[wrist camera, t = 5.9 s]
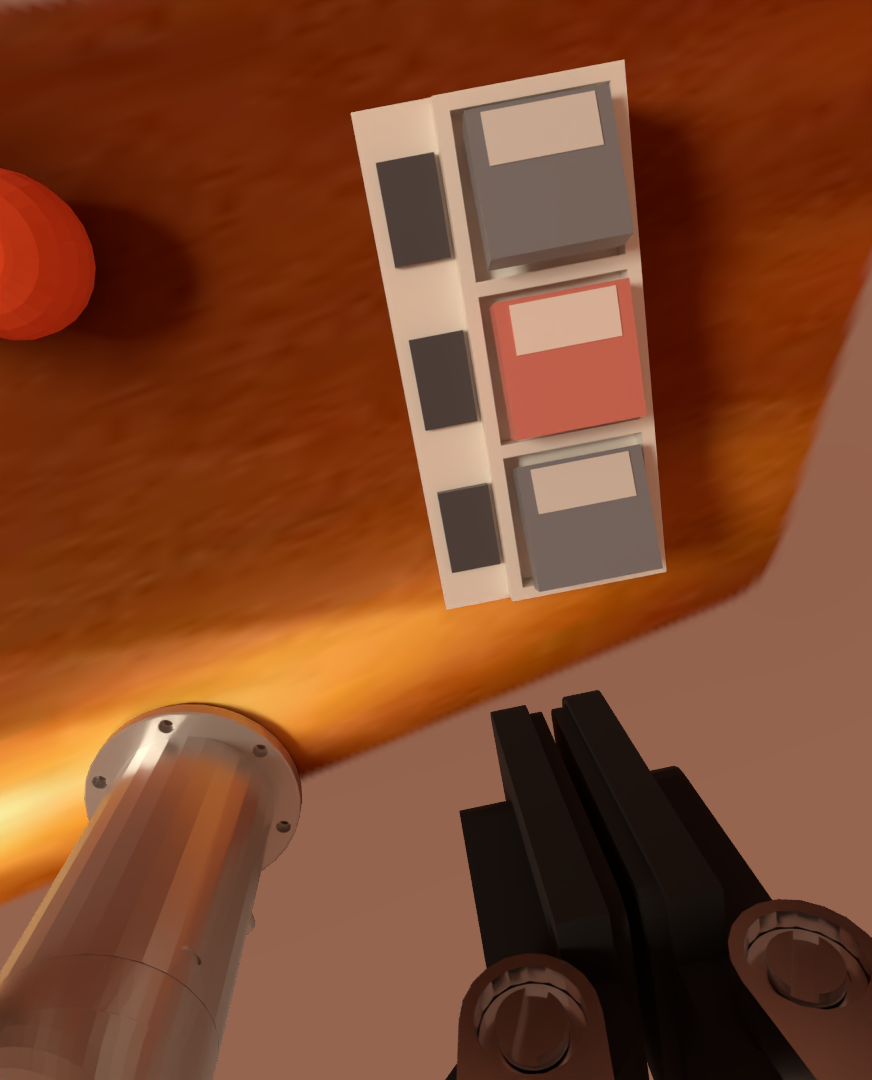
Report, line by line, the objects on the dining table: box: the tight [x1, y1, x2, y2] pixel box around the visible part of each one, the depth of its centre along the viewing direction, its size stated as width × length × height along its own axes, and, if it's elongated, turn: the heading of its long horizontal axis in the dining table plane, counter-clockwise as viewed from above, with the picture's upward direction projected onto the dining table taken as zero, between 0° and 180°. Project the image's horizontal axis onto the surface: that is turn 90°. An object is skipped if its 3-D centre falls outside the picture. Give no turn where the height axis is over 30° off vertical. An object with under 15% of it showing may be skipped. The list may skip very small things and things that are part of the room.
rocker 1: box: [462, 83, 634, 271], centre depth 27 cm, size 6×6×2 cm
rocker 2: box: [512, 444, 663, 592], centre depth 32 cm, size 6×6×2 cm
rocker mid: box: [489, 278, 647, 441], centre depth 29 cm, size 6×6×2 cm
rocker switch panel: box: [351, 60, 667, 610], centre depth 33 cm, size 22×11×6 cm, turn 10°
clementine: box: [0, 168, 96, 341], centre depth 30 cm, size 8×7×7 cm
